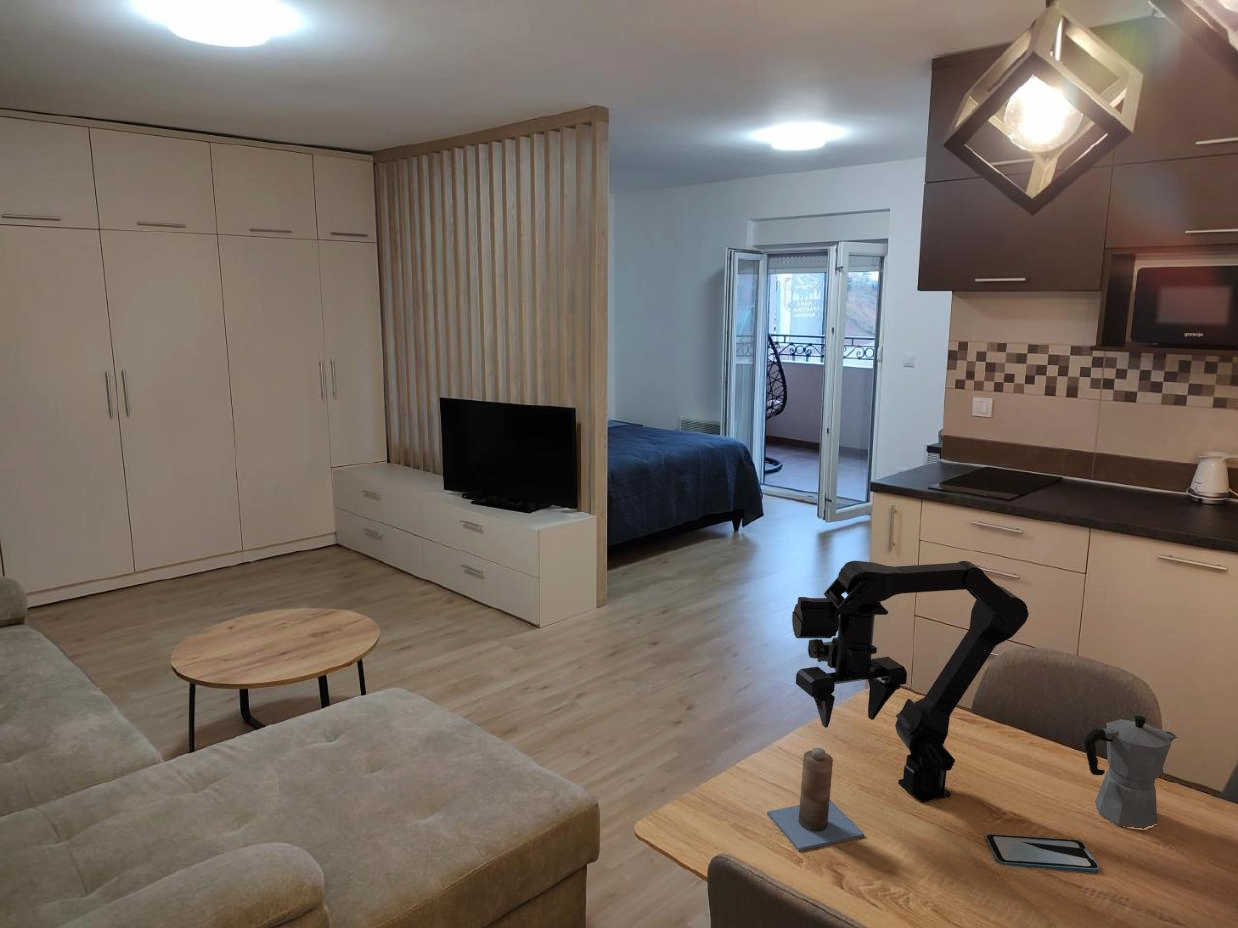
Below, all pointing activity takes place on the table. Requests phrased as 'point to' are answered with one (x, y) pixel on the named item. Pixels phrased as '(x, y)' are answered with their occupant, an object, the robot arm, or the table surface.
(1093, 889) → the table surface
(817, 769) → the pepper mill
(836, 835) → the placemat
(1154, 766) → the coffeepot
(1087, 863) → the smartphone
